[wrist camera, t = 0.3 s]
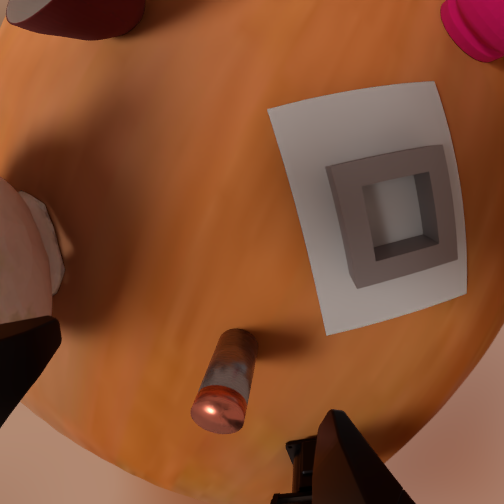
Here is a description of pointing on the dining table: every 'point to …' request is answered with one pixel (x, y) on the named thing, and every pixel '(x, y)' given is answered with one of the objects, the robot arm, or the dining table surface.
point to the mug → (76, 17)
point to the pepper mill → (476, 27)
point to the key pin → (226, 384)
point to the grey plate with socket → (376, 200)
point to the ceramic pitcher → (26, 257)
